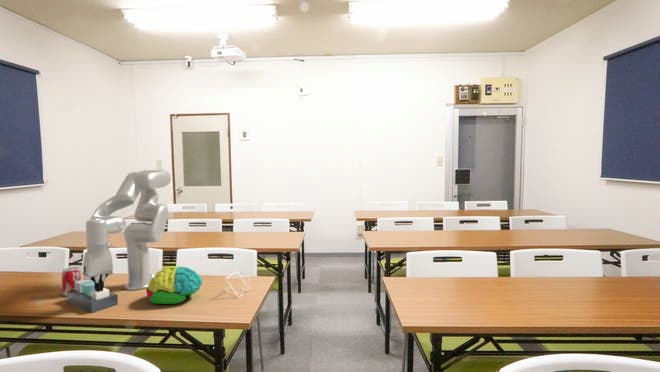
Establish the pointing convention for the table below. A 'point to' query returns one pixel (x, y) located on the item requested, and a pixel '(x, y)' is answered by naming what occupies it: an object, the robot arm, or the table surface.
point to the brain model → (173, 285)
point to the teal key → (88, 288)
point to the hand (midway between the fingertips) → (99, 290)
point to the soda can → (69, 279)
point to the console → (91, 301)
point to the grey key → (80, 285)
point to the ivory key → (99, 294)
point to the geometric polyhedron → (242, 279)
